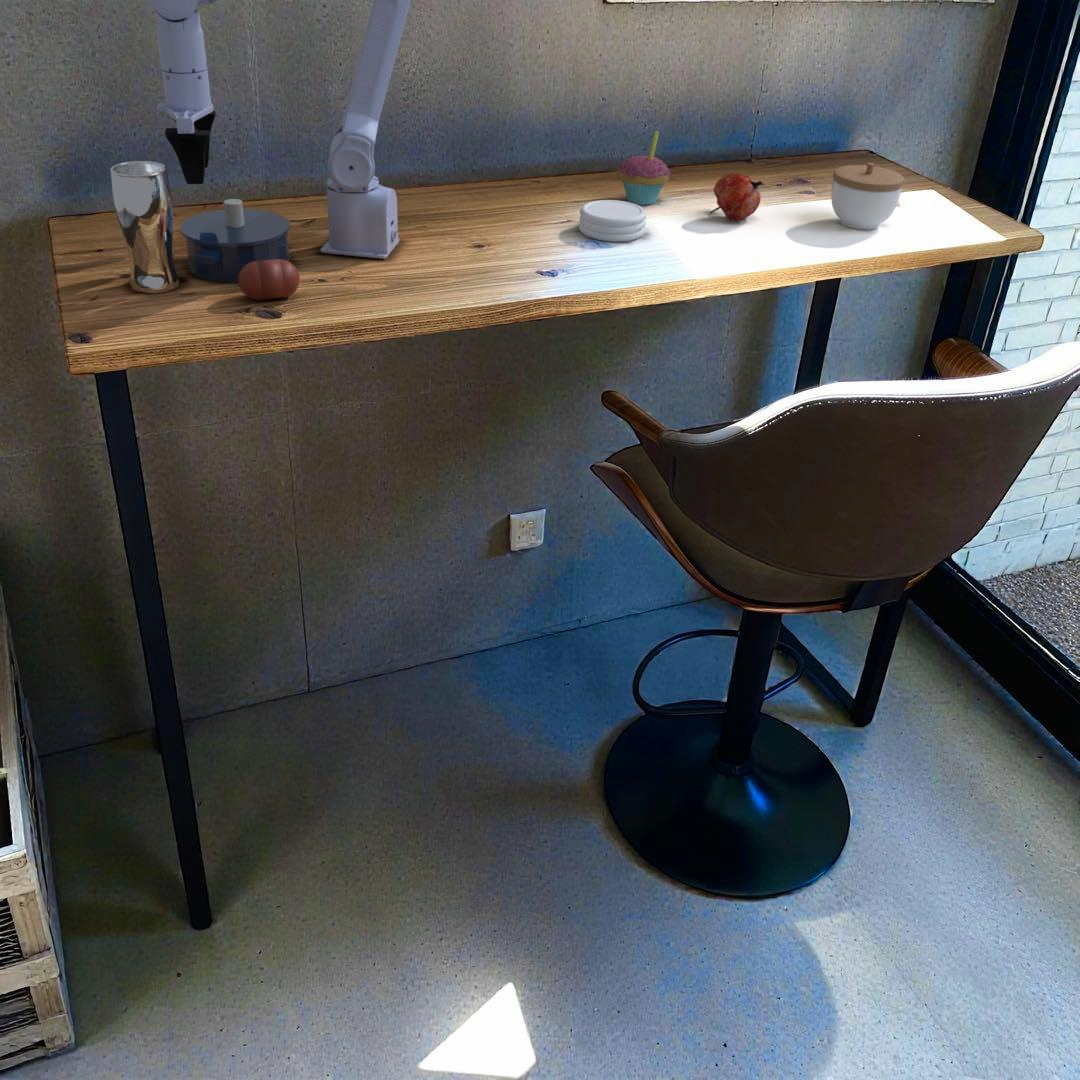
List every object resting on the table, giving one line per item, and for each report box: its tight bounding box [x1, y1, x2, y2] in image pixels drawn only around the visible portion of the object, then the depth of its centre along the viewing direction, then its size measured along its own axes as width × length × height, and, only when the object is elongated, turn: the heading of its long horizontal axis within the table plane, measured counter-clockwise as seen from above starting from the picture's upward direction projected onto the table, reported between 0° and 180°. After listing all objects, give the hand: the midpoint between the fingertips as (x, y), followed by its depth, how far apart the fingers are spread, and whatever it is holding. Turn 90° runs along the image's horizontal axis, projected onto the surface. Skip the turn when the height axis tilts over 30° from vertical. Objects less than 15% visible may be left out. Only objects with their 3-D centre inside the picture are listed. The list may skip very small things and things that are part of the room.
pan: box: [184, 233, 290, 284], centre depth 157 cm, size 13×19×5 cm
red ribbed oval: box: [238, 259, 300, 301], centre depth 148 cm, size 8×5×5 cm, turn 111°
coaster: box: [578, 199, 647, 243], centre depth 175 cm, size 10×10×4 cm
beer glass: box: [109, 160, 180, 294], centre depth 147 cm, size 7×7×15 cm
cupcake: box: [616, 127, 672, 206], centre depth 187 cm, size 9×8×12 cm
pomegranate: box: [709, 172, 766, 222], centre depth 183 cm, size 7×7×10 cm
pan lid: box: [179, 198, 291, 247], centre depth 155 cm, size 14×14×4 cm
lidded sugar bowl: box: [830, 162, 905, 231], centre depth 182 cm, size 11×11×9 cm
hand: (197, 175), depth 158 cm, fingers open, 7 cm apart
